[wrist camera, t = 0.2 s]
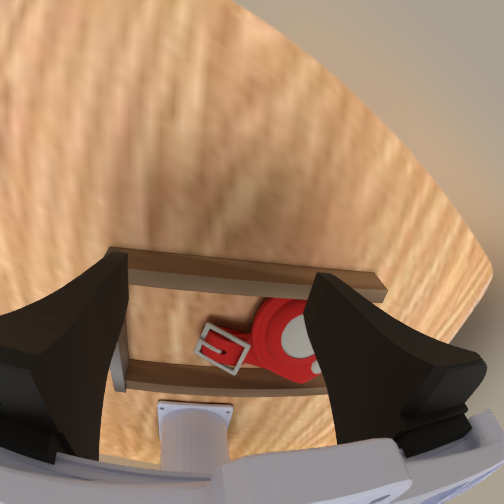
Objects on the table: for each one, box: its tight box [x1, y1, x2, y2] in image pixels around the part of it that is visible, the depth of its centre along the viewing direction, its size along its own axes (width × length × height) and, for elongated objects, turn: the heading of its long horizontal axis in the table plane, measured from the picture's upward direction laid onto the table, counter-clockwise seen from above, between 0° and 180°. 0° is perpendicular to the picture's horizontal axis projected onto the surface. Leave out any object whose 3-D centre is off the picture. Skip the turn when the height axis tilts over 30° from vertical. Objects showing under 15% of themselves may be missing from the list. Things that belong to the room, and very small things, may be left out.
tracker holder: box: [193, 297, 322, 384], centre depth 25 cm, size 12×4×10 cm
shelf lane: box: [104, 247, 388, 397], centre depth 24 cm, size 13×20×3 cm, turn 79°
